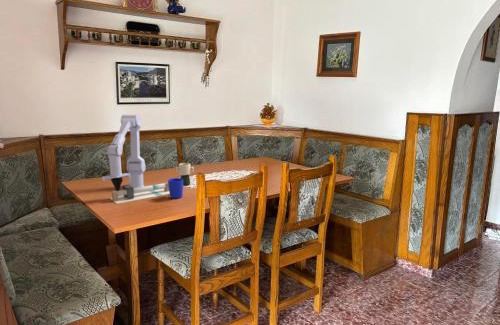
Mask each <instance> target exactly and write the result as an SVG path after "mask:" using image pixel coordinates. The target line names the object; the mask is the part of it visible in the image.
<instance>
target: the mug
mask: <svg viewBox="0 0 500 325" xmlns="http://www.w3.org/2000/svg"><path fill="white" fill-rule="evenodd" d="M167 182H168V185H169V193H170V194H169V196H170V198H171V199H176V200H177V199H181V198H182V197H183V193H184V185H183V179H181V177H174V178H173V177H172V178H169V179H168V180H167Z"/></svg>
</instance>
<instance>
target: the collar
mask: <svg viewBox="0 0 500 325" xmlns="http://www.w3.org/2000/svg"><path fill="white" fill-rule="evenodd" d="M126 189H127V195H123V196H125V197H126V198H128V199H132V198H134V194H135V193H134V189H133V187H132V186H130V185H129V184H123V185H122V190H126Z"/></svg>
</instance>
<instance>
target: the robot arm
mask: <svg viewBox="0 0 500 325" xmlns="http://www.w3.org/2000/svg"><path fill="white" fill-rule="evenodd" d="M120 124H121V125H120V128H119V131H118V133H117V134H115V136H114V138H112V139H113V140H112V141H111V143H110V145H108V146H107V147H106V155H107V157H108V159H109V170H110V174H108V175H104V176H101V178H102V179H101V180H102V181H104V182H106V181H109V180H110V181H111V182H112V185H113V187H114V191H120V188H121V185H122V182H123V178H128V185H130V186H132V187H133V188H138V187H145V186H146V185H144V172H146V167H147V166H146V162H145V159H144V158H143V157H141V152H140V151H141V150H140V149H141V148H140V146H141V144H140V129H141V128H142V119H141V116H140V115H139V114H122V115H121V117H120ZM128 131H130V157H129V158H128V159H127V161H126V162H127V163H126V170H127V172H124V173H123V172H122V170H123V169H122V159H121V158H122V154H123V149H124V148H123V146H124V145H125V144H124V143H125V141H126V134H127V133H128Z"/></svg>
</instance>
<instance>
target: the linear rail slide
mask: <svg viewBox="0 0 500 325" xmlns="http://www.w3.org/2000/svg"><path fill="white" fill-rule="evenodd" d="M144 186H145V187H138V188H133V189H134V198H132V199H128V198H126V197H125V196H124V195H127V189H126V190H123V189H121V190H119V191H116V190H111V197H109V199H110V200H111V201H112V202H114V203H115V204H116V205H118V204H124V203H129V202H135V201H141V200H145V199H151V198H156V197H157V198H158V197H162V196H168V195H169V196H170V193H169V185H168V181H167V182H163V183H157V184H152V185H144Z"/></svg>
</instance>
